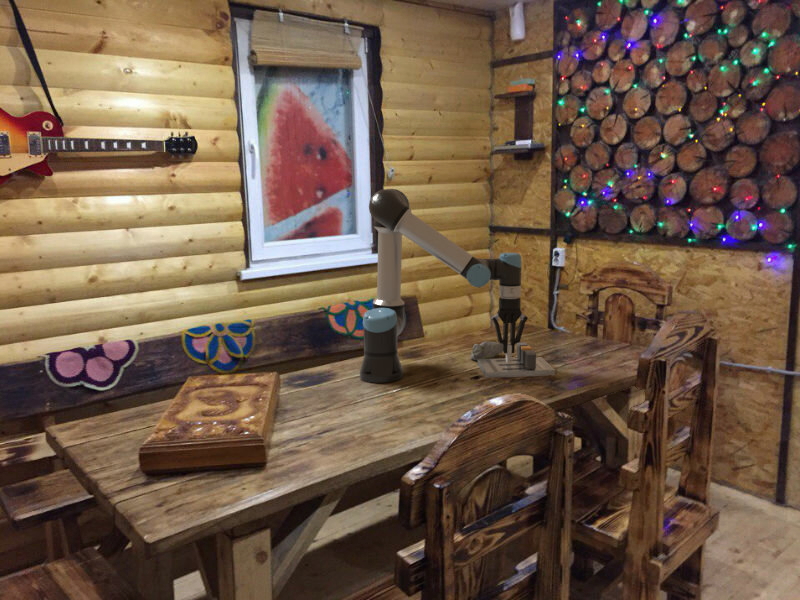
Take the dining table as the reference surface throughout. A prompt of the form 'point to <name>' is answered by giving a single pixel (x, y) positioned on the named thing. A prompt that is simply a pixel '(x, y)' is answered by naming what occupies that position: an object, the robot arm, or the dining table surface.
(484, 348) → the mineral specimen
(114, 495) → the dining table surface
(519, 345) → the breaker far
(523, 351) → the breaker middle
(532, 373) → the panel
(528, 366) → the breaker near
